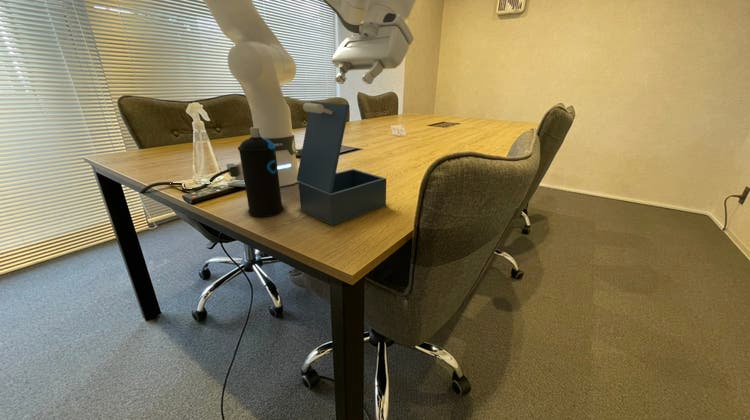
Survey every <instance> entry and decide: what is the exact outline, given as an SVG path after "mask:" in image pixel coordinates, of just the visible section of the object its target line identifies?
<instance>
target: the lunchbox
mask: <svg viewBox="0 0 750 420" xmlns="http://www.w3.org/2000/svg"><path fill="white" fill-rule="evenodd" d="M297 185H298V195H299V204H300V206H299V207H300V211H302V212H303V213H305V214H307V215H310V216H312V217H314V218H315V219H317V220H319V221H321V222H323V223H325V224H327V225H329V226H331V227H333V226H336V225H338V224H341V223H344V222H346V221H349V220H351V219H354V218H356V217H359V216H363V215H364V214H367V213H370V212H372V211H375V210H378V209H380V208H383V207H385V206H387V178H385V177H383V176H379V175H376V174H372V173H369V172H365V171H362V170H358V169H354V168H351V169H347V170H343V171H338V172H336V175H335V179H334V184H333V189H332V193H327V192H325V191H322V190H320V189H317V188H315V187H312V186H310V185H307V184H305V183H302V182H300V181H299V182H297Z"/></svg>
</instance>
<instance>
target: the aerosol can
mask: <svg viewBox="0 0 750 420" xmlns="http://www.w3.org/2000/svg"><path fill="white" fill-rule="evenodd" d="M249 133H250V137H249V138H246V139H244V140H243V141H242V142H241V143H240V144H239V146H237V150H238V151H239V157H240V158H241V164H242V170H243V176H244V182H245V187H244V188H245V192H246V198H247V205H248V211H247V212H248V215H250V217H251V216H252V217H255V218H268V217H273V216H276V215H279V214H280V213H282V212H283V210H284V206H283V203H282V195H281V194H282V193H281V186H280V184H279V176H278V168H277V160H276V151H275V148H276V145H274V144H273V143H272V142H271V141H270V140H268V139H265V138H262V137H260V133H259V127H254V126H252V127H249ZM240 158H239V159H240Z"/></svg>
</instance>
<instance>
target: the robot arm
mask: <svg viewBox="0 0 750 420" xmlns="http://www.w3.org/2000/svg"><path fill="white" fill-rule="evenodd" d="M417 1H418V0H322V2H324V3H325V4H326V5H327V6H328V7H330V9H331V10H332V11H334V13H335V14H336V16H337V17H338V19H339V21H340V23H341V24H342V26H343V27H344V28H345V29H346V30H347V31H348V32H350V33H353V34H352V35H350V36H349V35H348V36H347V37H346V38H344V39H343V41H341V43H340V44H339V46H338V47H337V49H336V50H335V52H334V54H333V55H332V58H331V62H332V64H333V65H334V66H335V67H336V68H337V74H336V76H335V78H334V80H335V82H336V83H337V84H338V85H344V84H345V82H346V80H347V77H346V74H347V73H348V72H349V71H366V70H367V72H364V74H363V76H362V82H363V83H364V84H365V85H372V84H373V82H374V80H375V79H376V78H377V77H378V76H379V75H381V73H383V71H384V70H390V69H393V70H394V69H397V68H398V67H399V66H400V65H401V64H402V63H403V61H404V59H405V57H406V56H407V53H408V51H409V49H410V45H412V43H413V41H414V35H413V34H412V31H411V29H410V27H409V25H408V24H407V23H406V21H407V20H409V18H410V16H411V14H412V12H413V10H414V7H415V6H416V4H417ZM203 2H204V4H205V6H206V7H207V9H208V11H209V12H210V14H211V16H212V17H213V19H214V21H215V23H216V24H217V26H218V27H219V29H220V30H221V32H222V33H223V35H224V36H225V37H226V38H228V40H230V41H231V42H232V43H233V44H234V45H233V46H231V48H230V49H229V51H228V54H227V66H228V70H229V71H230V73H231V75H232V77H233V78H234V79H235V80H236V81H237V82H238V83H239V85H240V87H241V89H242V91H243V93H244V95H245V98H246V101H247V103H248V106H249V109H250V113H251V120H252V125H253V126H252V127H259V133H260V137H262V138H265V139H268V140H270V141H271V142H272V143H273V144H274V145H276V148H275V151H276V160H277V168H278V176H279V184H280V187H286V186H290V185H294V184H298V182H300V181H297V175H298V170H299V165H298V161H297V156H296V153H297V152H296V151H297V146H296V139H295V135H294V133H293V123H292V115H291V108H290V106H289V104H288V103H287V102H286V99H285V96H284V93H283V90H282V87H284V86H285V85H287V84H289V83H290V82H291V81H293V80H294V78H295V76H296V73H297V64H296V61H295V59H294V57H293V56H292V55H291V54H290V53H289V52H288V51H287V50H286V49H285V47H284V46H283V44H282V43H281V41H280V40H279V39H278V37H277V36H276V34H275V33H274V32H273V31H272V29H271V28H270V26H269V25H268V24H267V23H266V21H265V20H264V18H263V16H261V14H260V12H259V11H258V9H257V8H256V6H255V3H254V2H253V0H203ZM225 174H228V175H229V177H230V178H231V177H234V179H231V180H229V179H227V186H231V187H239V188H240V187H241V188H245V184H235V183H228V181H232V180H244V176H243V170H242V164H241V158H239V159H238V160H237V161H236V162H235V163H226V169H224V170H222V171H220V172H217V173H215V174H214V175H213V176H211V177H210V179H209V180H208V181H210V182H212V183H213V181H214V180H215V179H217V178H218V177H221V176H222V175H225ZM173 182H174V181H160V182H153V183H151V184H149V185H147V186H144V188H142V189H141V190H140V192H139V194H145V193H146V192H147V191H148V190H150V189H152V188H155V187H159V186H182V183H184V182H182V183H173ZM170 183H171V184H170ZM212 183H210V184H206V183H203V184H202V185H199V186H196V187H191V188H192V189H184V188H182V187H181V190H182V191H184V192H196V191H200V190H203V189H205V188H207V187H209V186H210V185H211V184H212ZM184 187H185V188H186V183H184Z"/></svg>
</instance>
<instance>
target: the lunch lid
mask: <svg viewBox="0 0 750 420" xmlns="http://www.w3.org/2000/svg"><path fill="white" fill-rule="evenodd" d="M302 109H303V111H304V112H306V113H308V117H307V121H306V127H305V132H304V138H303V143H302V148H301V153H300V159H299V165H298V168H299V170H298V175H297V181H299V182H302V183H305V184H307V185H310V186H312V187H315V188H317V189H320V190H322V191H325V192H327V193H332V189H333V184H334V179H335V175H336V173H337V170H338V165H339V159H340V155H341V150H342V145H343V140H344V135H345V131H346V130H345V129H346V124H347V121H348V115H349V110H350V105H349V104H347V103H346V104H345V103H335V102H323V101H322V102H321V101H310V102H305V103H303V105H302Z"/></svg>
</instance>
